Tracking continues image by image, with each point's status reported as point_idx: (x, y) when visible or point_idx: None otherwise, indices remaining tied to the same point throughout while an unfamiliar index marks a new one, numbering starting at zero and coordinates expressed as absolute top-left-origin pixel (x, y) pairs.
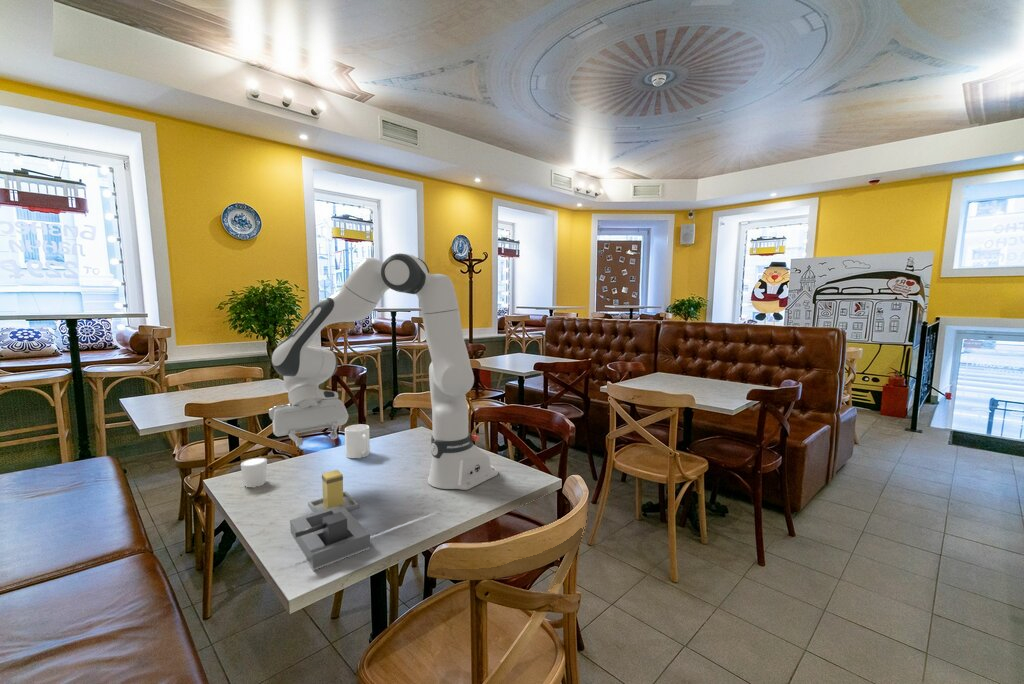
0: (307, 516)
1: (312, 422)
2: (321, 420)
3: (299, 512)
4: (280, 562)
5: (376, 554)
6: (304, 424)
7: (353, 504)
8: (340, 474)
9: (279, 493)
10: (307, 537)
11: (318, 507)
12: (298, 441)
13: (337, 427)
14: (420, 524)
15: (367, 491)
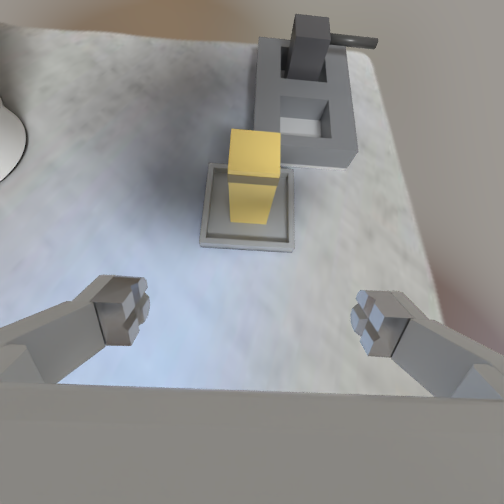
0: (326, 142)
1: (302, 424)
2: (125, 430)
3: (313, 241)
4: (369, 112)
5: (255, 51)
6: (434, 417)
7: (212, 183)
8: (236, 131)
9: None
10: (342, 83)
11: (277, 223)
12: (397, 296)
13: (18, 321)
14: (161, 64)
15: (147, 234)
